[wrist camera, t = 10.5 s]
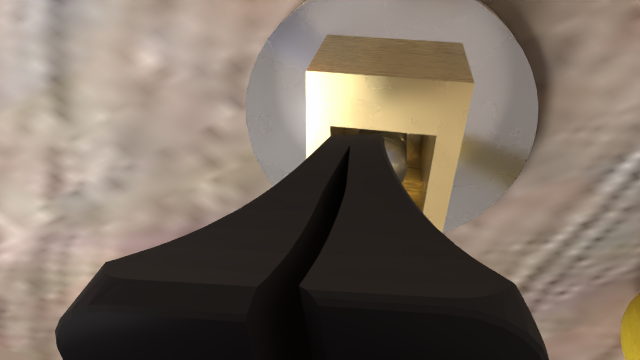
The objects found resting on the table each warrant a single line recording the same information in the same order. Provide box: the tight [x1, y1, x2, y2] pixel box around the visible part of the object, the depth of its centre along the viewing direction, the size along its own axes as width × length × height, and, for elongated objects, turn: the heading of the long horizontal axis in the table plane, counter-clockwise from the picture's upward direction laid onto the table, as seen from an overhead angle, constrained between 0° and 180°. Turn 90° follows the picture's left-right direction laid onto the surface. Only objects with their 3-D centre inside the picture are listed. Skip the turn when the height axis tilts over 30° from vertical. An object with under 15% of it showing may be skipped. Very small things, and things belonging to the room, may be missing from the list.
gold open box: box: [306, 34, 475, 232], centre depth 17 cm, size 5×7×4 cm
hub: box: [246, 0, 538, 233], centre depth 18 cm, size 12×12×4 cm
